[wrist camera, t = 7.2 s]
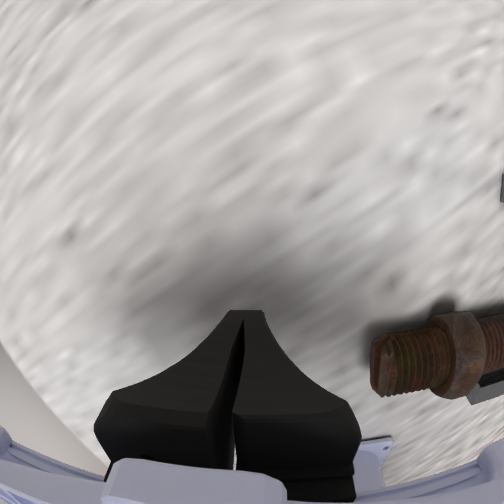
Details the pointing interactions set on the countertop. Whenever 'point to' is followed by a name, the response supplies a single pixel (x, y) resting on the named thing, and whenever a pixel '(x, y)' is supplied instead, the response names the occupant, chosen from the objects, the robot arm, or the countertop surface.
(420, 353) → the bolt
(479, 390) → the grey shallow rectangular tray
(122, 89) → the countertop surface
